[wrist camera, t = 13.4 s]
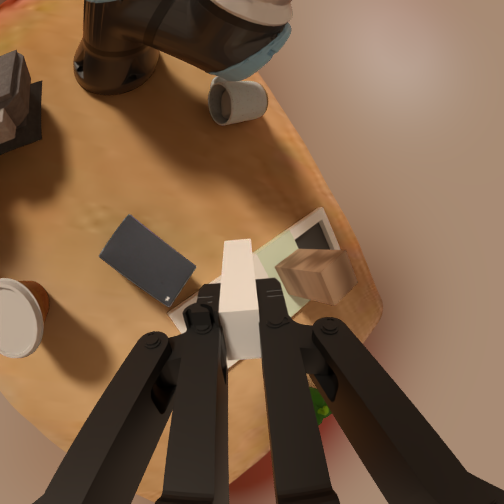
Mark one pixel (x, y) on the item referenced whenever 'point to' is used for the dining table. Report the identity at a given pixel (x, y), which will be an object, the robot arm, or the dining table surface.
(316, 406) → the bell pepper
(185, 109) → the dining table surface
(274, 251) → the trap board
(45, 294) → the disposable coffee cup
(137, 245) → the small box
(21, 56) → the juicer
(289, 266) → the walnut block
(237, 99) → the ceramic mug
